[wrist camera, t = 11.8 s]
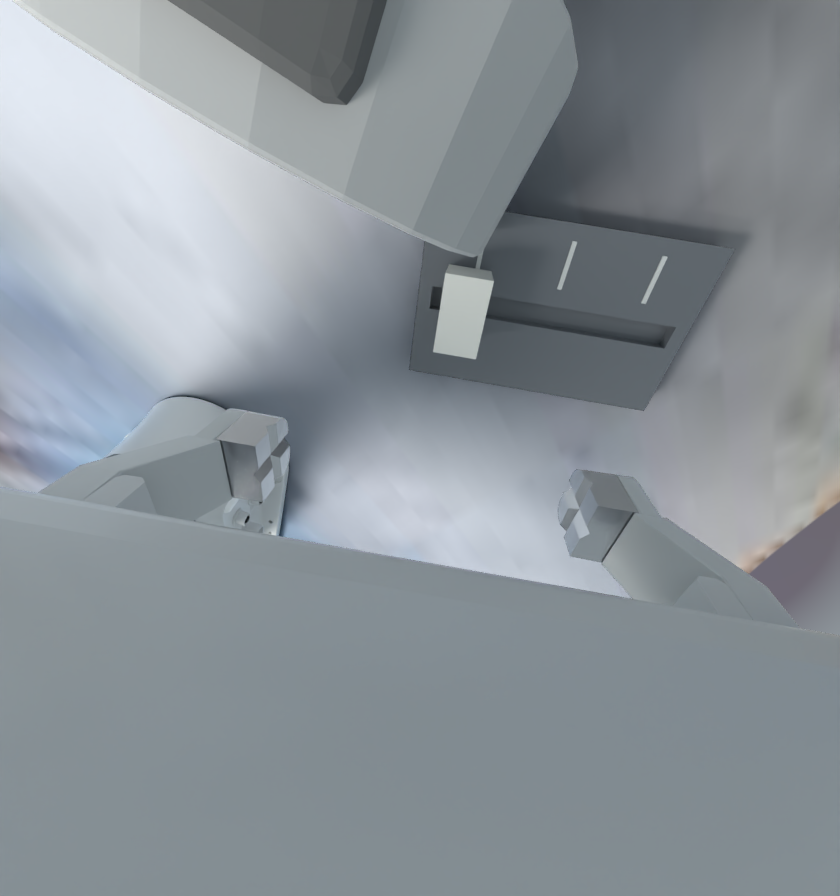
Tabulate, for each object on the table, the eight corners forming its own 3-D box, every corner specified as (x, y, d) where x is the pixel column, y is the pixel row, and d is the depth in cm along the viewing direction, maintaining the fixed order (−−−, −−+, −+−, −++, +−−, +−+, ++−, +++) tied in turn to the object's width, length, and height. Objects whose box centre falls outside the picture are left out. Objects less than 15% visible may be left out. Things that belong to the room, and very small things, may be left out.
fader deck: (635, 400, 31) (644, 411, 30) (412, 361, 32) (408, 370, 30) (718, 246, 25) (736, 249, 23) (432, 199, 25) (429, 199, 23)
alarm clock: (542, 124, 23) (717, -83, 6) (478, 243, 27) (483, 304, 10) (214, -115, 19) (-1331, -2016, 3) (198, 65, 23) (-460, -266, 7)
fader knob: (475, 336, 29) (475, 359, 24) (438, 330, 29) (433, 352, 25) (490, 268, 26) (494, 281, 22) (450, 262, 26) (445, 273, 22)
